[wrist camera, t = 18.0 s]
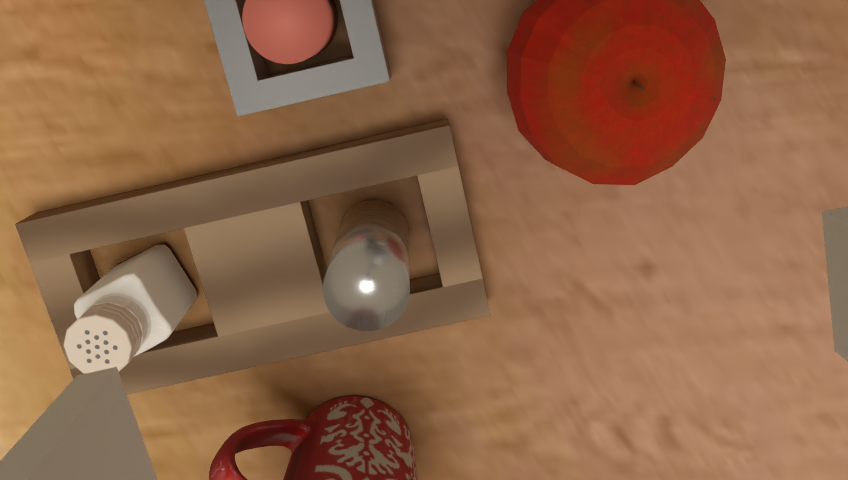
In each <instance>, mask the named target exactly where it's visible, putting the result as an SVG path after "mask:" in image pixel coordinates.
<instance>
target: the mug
mask: <svg viewBox="0 0 848 480" xmlns="http://www.w3.org/2000/svg"><path fill="white" fill-rule="evenodd" d="M264 446H284V447H287V448H289V449H290V450H291V451H292V455H291V458H290V461H289V464H288V467H287V470H286V473H285V476H284V479H283V480H418V479H417V472H416V465H415V455H414V447H413V441H412V437H411V434H410V431H409V429H408V427H407V425H406V423H405V422H404V420H403V419H402V417H401V416H400V415H399V414H398V413H396V412H395V411H394V410H393V409H392V408H391V407H389V406H388V405H386V404H384V403H382V402H380V401H377V400H375V399H371V398H367V397H360V396H347V397H342V398H337V399H333V400H330V401H328V402H326V403H324V404H323V405H321V406H319V407H318V408H317V409H315V410H314V411H313V412H312V413H311V414H310V415H309V416H308V417H307V418H306V420H295V419H284V420H271V421H264V422H258V423H254V424H251V425H248V426H245V427H243V428H241V429H239V430H237V431H236V432H235V433H233V434H232V435H231V436H230V437H229V438H228V439H227V440H226V441H225V442H224V444H223V445H222V446H221V448H220V449H219V451H218V452H217V454H216V456H215V458H214V459H213V461H212V464H211V467H210V472H209V480H247V479H246V478H245V477H244V476H243V475H242V474H241V473H240V471H239V469H238V467H237V465H236V462H235V454H236V453H238V452H241V451H244V450H248V449H253V448H258V447H264Z"/></svg>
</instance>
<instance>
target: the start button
mask: <svg viewBox="0 0 848 480" xmlns="http://www.w3.org/2000/svg"><path fill="white" fill-rule="evenodd" d="M242 21H243V28H244V31H245V34H246V37H247V39H248V41H249V42H250V44H251V45H252V47H253V48H254V49H255V50H256V51H257V52H258V53H259V54H260V55H262V56H263V57H265V58H266V59H268V60H271V61H273V62H276V63H281V64H294V63H298V62H302V61H304V60H306V59H308V58H310V57H312V56H314V55H316V54H318V53H319V52H321V51H322V50H324V49H325V48H326V47H327V46H328V45H329V43H330V42H331V40H332V39H333V37H334V34H335V31H336V27H337V13H336V9H335V5H334V3H333V1H332V0H246V1H245V4H244V7H243V14H242Z"/></svg>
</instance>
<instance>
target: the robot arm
mask: <svg viewBox="0 0 848 480" xmlns="http://www.w3.org/2000/svg"><path fill="white" fill-rule="evenodd" d="M822 218H823V229H824V240H825V251H826V262H827V273H828V283H829V294H830V305H831V316H832V327H833V338H834V349H835V352H837V353H838V354H839V355H840V356H842V357H843V358H844V359H845V360H847V361H848V206H847V207H842V208H838V209H833V210H829V211H824V212H822ZM0 480H157V477H156V475H155V472H154V469H153V466H152V463H151V461H150V458H149V455H148V452H147V450H146V447H145V444H144V441H143V438H142V436H141V433H140V430H139V427H138V425H137V422H136V419H135V416H134V413H133V411H132V408H131V405H130V402H129V400H128V397H127V394H126V391H125V388H124V386H123V383H122V380H121V377H120V375H119V372H118V369H117V367H113V368H109V369H104V370H100V371H95V372H91V373H86V374H81V375H77V376H76V377H75V378H74V379H73V381H72V382H71V383H70V384H69V385H68V386H67V387H66V388H65V390H64V391H63V392H62V393H61V394H60V395H59V396H58V397H57V398H56V400H55V401H54V402H53V403H52V404H51V405H50V406H49V407H48V408H47V410H46V411H45V412H44V413H43V414H42V415H41V416H40V417H39V419H38V420H37V421H36V422H35V423H34V424H33V425H32V426H31V427H30V429H29V430H28V431H27V432H26V433H25V434H24V435H23V436H22V438H21V439H20V440H19V441H18V442H17V443H16V444H15V445H14V446H13V448H12V449H11V450H10V451H9V452H8V453H7V454H6V455H5V456H4V458H3V459H2V460H1V461H0Z"/></svg>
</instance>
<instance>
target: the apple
mask: <svg viewBox="0 0 848 480" xmlns="http://www.w3.org/2000/svg"><path fill="white" fill-rule="evenodd" d="M725 61H726V59H725V55H724V51H723V48H722V44H721V41H720V37H719V33H718V30H717V26H716V23H715V20H714V18H713V17H712V16H711V14H710V13H709V12H708V10H707V9H706V8H705V6H704V5H703V4H702V3H701V1H700V0H537V1H536V2H535V3H534V4H533V5H531V6H530V7H529V8H528V9H527V10H526V11H525V12H524V13H523V15H522V18H521V20H520V22H519V25H518V27H517V29H516V32H515V34H514V36H513V39H512V41H511V44H510V46H509V48H508V51H507V93H508V96H509V100H510V103H511V106H512V110H513V113H514V117H515V120H516V123H517V127H518V130H519V132H520V133H521V134H522V135H523V136H524V137H525V138H526V139H527V140H528V141H529V142H530V144H531V145H532V146H533V147H534V148H535V149H536V150H537V151H538V152H539V153H540V154H541V155H542V157H543V158H544V159H545V160H547V161H549V162H551V163H552V164H554V165H556V166H558V167H560V168H562V169H564V170H566V171H568V172H570V173H572V174H574V175H576V176H578V177H580V178H582V179H584V180H586V181H588V182H590V183H592V184H615V185H636V184H638V183H640V182H642V181H644V180H646V179H648V178H650V177H652V176H654V175H656V174H658V173H660V172H662V171H664V170H666V169H668V168H670V167H672V166H673V165H674V164H675V163H676V162H677V161H679V160H680V159H681V158H682V157H683V156H684V155H685V154H686V153H687V152H688V151H689V150H690V149H691V148H692V147H693V146H694V145H695V144H696V143H698V142H699V141H700V140H701V139H702V138H703V136H704V134H705V132H706V130H707V128H708V126H709V124H710V122H711V120H712V118H713V115H714V113H715V111H716V109H717V107H718V105H719V103H720V101H721V95H722V87H723V78H724V70H725Z"/></svg>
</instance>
